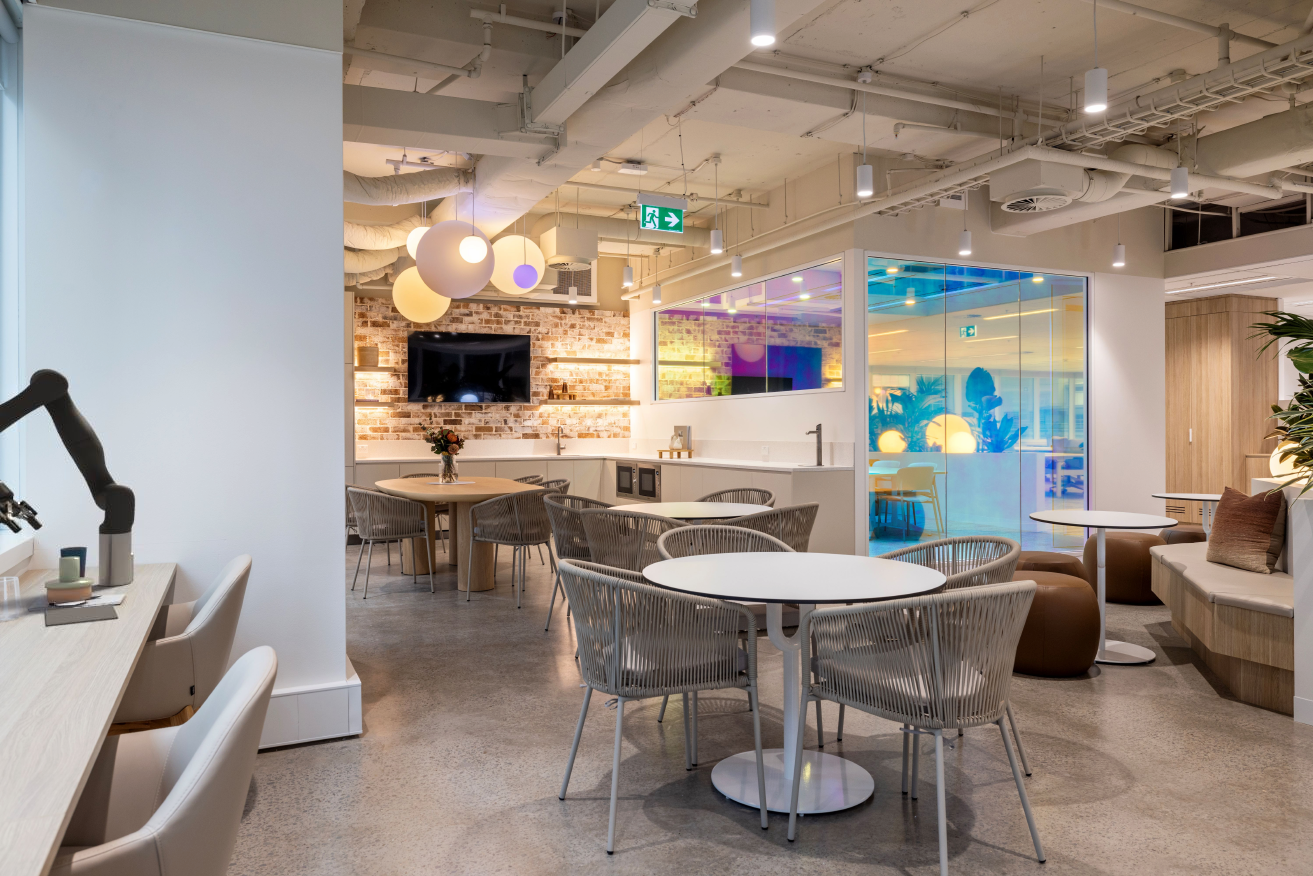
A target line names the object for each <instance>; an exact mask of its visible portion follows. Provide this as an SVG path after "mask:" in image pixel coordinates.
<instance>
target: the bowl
mask: <svg viewBox="0 0 1313 876" xmlns="http://www.w3.org/2000/svg"><path fill="white" fill-rule="evenodd" d="M92 585H93V584H92ZM92 585H89V586H85V587H79V588H70V589H47V588H46V601H47V602H49V603H53V602H55V603H67V602H73V601H81V600H85V599H86V600H87V599H91V598H92V597H93V596H92Z"/></svg>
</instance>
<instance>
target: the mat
mask: <svg viewBox="0 0 1313 876" xmlns="http://www.w3.org/2000/svg"><path fill="white" fill-rule="evenodd" d="M104 619H105V620H104ZM106 619H110V620H116V619H119V616H118V613H117V612H116V609H115V607H114V605H113V603H112V604H108V605H102V606H96V607H81V608H66V607H57V608H47V609H45V620H46V621H45V623H46V627H52V626H53V625H55V626H63V625H62V624H64V625H70V624H71V623H73V624H80V623H79V622H82V623H88V622H87V621H91V622H94V621H93V620H101V621H107V620H106ZM71 625H72V624H71ZM53 627H54V626H53Z"/></svg>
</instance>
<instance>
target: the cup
mask: <svg viewBox="0 0 1313 876" xmlns="http://www.w3.org/2000/svg"><path fill="white" fill-rule="evenodd" d="M87 550H88V547H86V546H68V547H63V548H60V550H59V552H60V558H62V557H80V577H85V576H86V564H87V563H86V562H87ZM85 578H86V577H85Z"/></svg>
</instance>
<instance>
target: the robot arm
mask: <svg viewBox="0 0 1313 876" xmlns="http://www.w3.org/2000/svg"><path fill="white" fill-rule="evenodd" d="M69 384H70V383H69V380H68V378H67V377H66V376H65V375H64V374H62V373H61V372H59V371H56V370H54V369H50V368H43V369H42V368H41V369H39V370H36V371H35V372H34V373H33V374H32V375H31V377H30V380H29V385H27V387H26V388H24V389H23V390H22V391H21V392H19V393H18V394H17V395H15V396H13V397H12V398H10V399H8V400H7V401H4V402H3V403H1V404H0V434H1V433H2V432H4V431H5V430H6V429H8V428H10V427H11V426H13V425H14V424H15V423H17V422H18V421H19V420H21V419H22V418H24V417H26V416H27V415H29V414H30V413H32V412H33V411H36V410H37V409H39V408H40V407H41V408H42V407H44V408H45V409H46V411H47V412H48V414H49V416H50V418H51V420H52V423H53V425H54V427H55V430H56V432H57V434H58V436H59V438H60V439H61V442H62V444H63V446H64V448H65V449H66V450H67V452H68V454H69V456H70V457H71V459H72V460H73V462H74V464H75V465H76V467H77V469H78V470H79V472H80V474H81V476H83V478H84V480H85V483H86V484H87V487H88V489H89V492H90V494H91V497H92V499H93V501H94V503H95V505H96V506H97V507H98V508H99V509H100V510H102V511H104V520H103V521H102V523H101V524H99V526H98V585H99V586H101V587H114V586H116V587H117V586H122V585H128V584H132V583H133V582H134V576H135V575H134V574H135V573H134V567H135V566H134V563H135V562H134V561H135V560H134V556H135V555H134V553H132V530H133V529H132V527H133V525H134V524H135V516H136V515H135V513H136V497H135V493H134V491H133V490H132V488H130V487H128V486H126V485H121V484H117V483H116V481H115V480H114V478H113V477H112V475H111V474H110V472H109V470H108V468H107V464H106V459H105V458H106V457H105V451H104V447H103V445H102V442H101V441H100V439H99V437H98V436H97V433H96V432H95V431H94V428H93V427H92V425H90V423H89V421H88V420H87V418H85V416H84V415H83V414H82V413H81V411H79V409H78V408H77V407H76V405H75V403H74V401H73V400H72V398H71V395H70V393H69V391H68V390H69ZM14 497H15V493H14V491H12V489H11V488H9V487H8V486H7V485H6V484H5V482H3V481H2V480H1V479H0V524H2V525H4V526H6V527H8V528H9V530H11V531H12V532H13V533H14V534H19V533H20V532H21V531H22V529H23V527H22V526H21V525H19V523H17V521H16V520H15V519H13V518H16V519H18V520H21V519H22V520H24V521H26V522H27V523H28V525H30V526H31V527H32V528H33V529H34V530H35V531H38V530H41V528H42V527H43V524H42V523H41V522H40V521H39V520H38V519H37V518H36V516H37V515H38V514H39V513H38V511H36V509H34V508H33V507H32V506H31V505H30V504H29V503H28V502H27V501H26V500H23V499H22V500H21V501H20V502H18V501H16V500H15V499H14Z"/></svg>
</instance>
